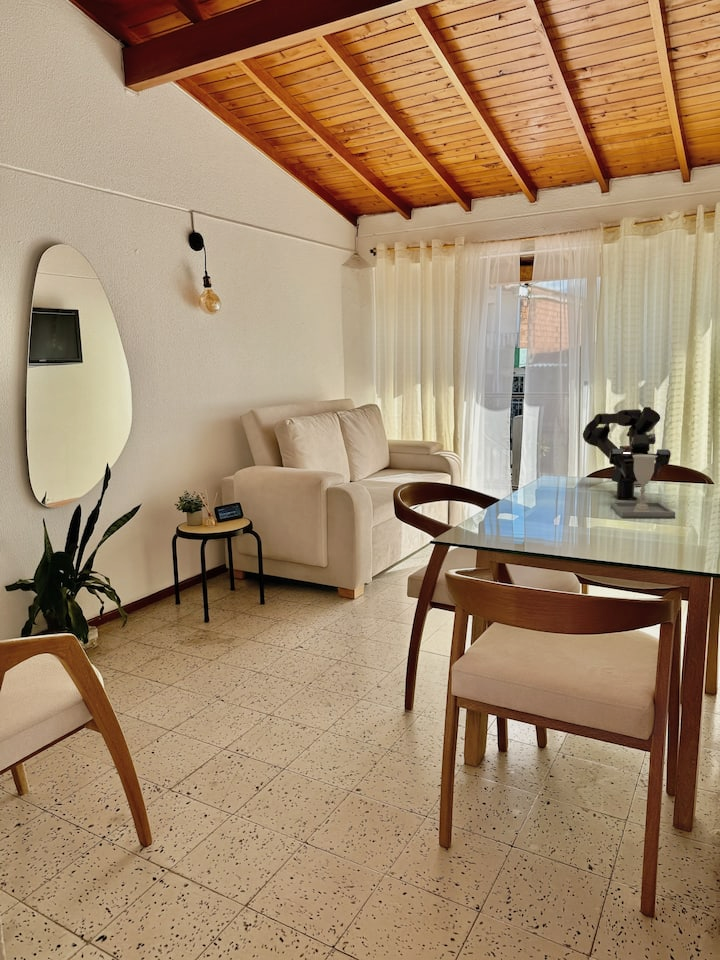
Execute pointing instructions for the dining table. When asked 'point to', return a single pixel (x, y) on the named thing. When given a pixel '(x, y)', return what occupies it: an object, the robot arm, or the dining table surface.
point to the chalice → (643, 476)
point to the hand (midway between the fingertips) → (640, 477)
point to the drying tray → (655, 511)
